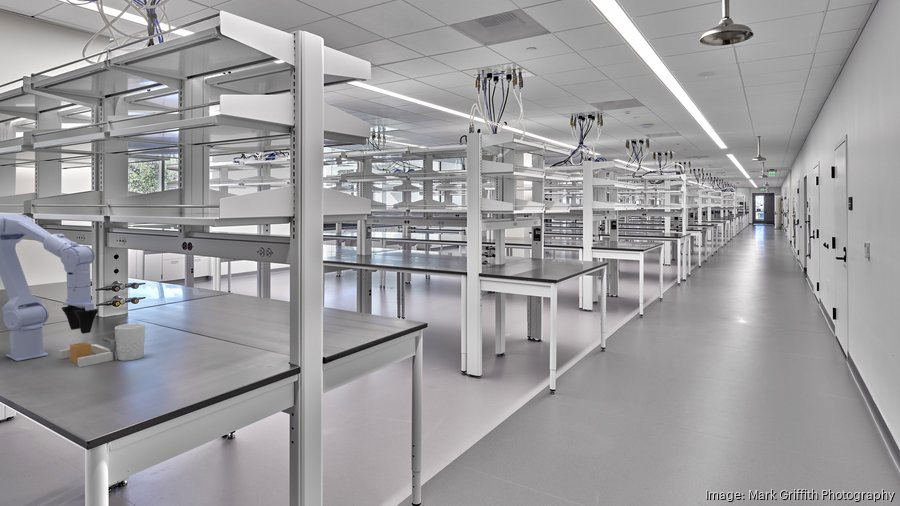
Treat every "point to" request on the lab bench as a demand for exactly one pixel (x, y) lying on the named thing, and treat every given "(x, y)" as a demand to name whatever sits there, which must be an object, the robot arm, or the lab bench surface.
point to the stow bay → (101, 353)
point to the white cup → (130, 341)
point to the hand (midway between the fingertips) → (80, 330)
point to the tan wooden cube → (79, 351)
